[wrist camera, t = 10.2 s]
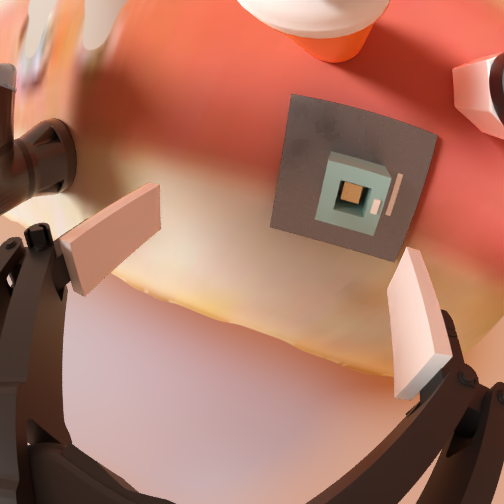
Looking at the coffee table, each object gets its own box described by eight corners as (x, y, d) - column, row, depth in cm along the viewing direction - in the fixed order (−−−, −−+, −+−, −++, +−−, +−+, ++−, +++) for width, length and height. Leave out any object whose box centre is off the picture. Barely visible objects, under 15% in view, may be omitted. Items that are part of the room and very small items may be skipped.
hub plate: (273, 222, 36) (260, 242, 31) (294, 94, 27) (283, 92, 23) (393, 256, 32) (398, 281, 28) (433, 133, 24) (449, 140, 19)
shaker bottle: (330, 86, 25) (300, 56, 9) (273, 32, 24) (170, -36, 8) (389, 42, 20) (441, -36, 4) (329, -12, 19) (292, -122, 3)
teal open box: (331, 151, 28) (327, 160, 23) (385, 166, 26) (392, 179, 22) (320, 202, 31) (314, 220, 27) (370, 216, 30) (373, 237, 25)
